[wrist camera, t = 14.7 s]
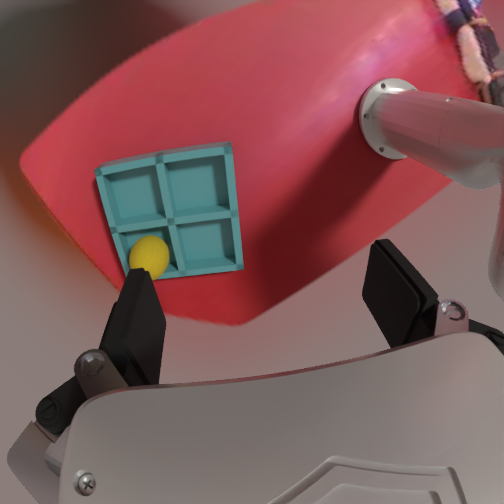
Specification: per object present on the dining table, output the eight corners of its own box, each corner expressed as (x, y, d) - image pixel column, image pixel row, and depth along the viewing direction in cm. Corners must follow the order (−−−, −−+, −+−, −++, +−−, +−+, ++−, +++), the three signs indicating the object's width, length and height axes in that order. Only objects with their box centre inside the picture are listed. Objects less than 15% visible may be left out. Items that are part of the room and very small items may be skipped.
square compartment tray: (230, 141, 35) (231, 145, 32) (242, 256, 44) (244, 269, 41) (103, 162, 34) (94, 169, 31) (133, 269, 43) (128, 282, 40)
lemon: (164, 263, 42) (156, 297, 36) (132, 249, 40) (118, 281, 34) (178, 235, 40) (171, 267, 33) (144, 219, 38) (130, 248, 31)
